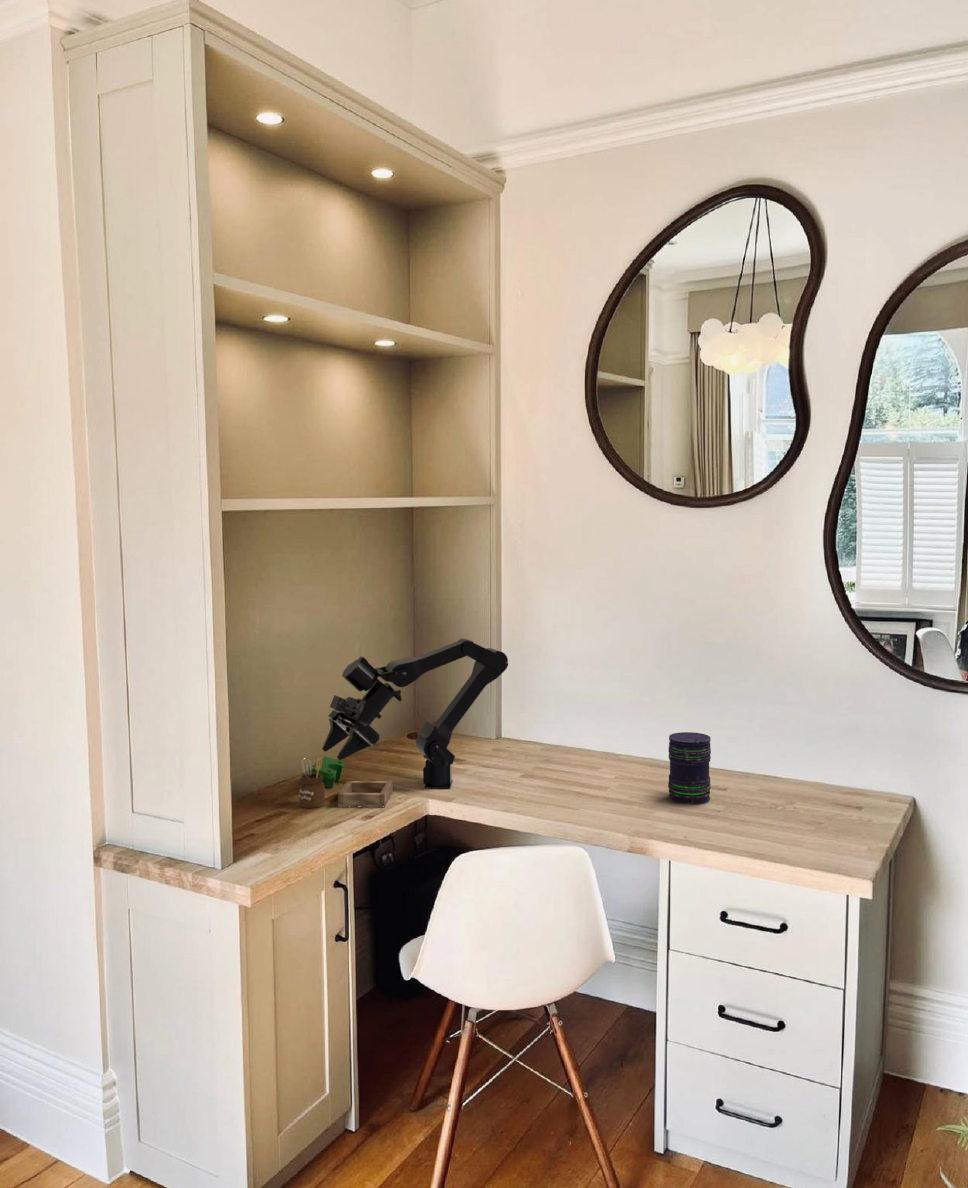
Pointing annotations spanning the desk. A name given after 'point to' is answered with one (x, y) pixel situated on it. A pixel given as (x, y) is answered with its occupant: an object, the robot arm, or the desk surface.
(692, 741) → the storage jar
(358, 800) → the socket block
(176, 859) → the desk surface
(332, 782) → the clamp
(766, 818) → the desk surface
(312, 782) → the utensil holder
